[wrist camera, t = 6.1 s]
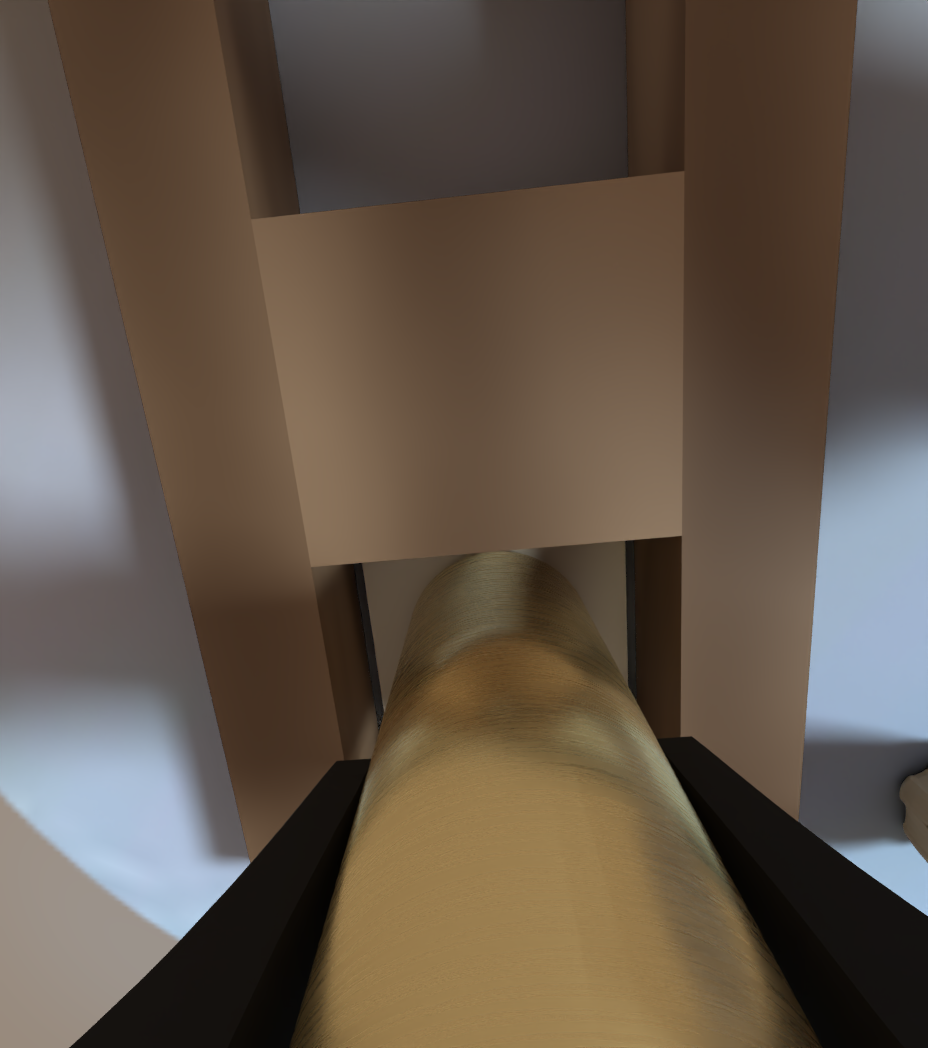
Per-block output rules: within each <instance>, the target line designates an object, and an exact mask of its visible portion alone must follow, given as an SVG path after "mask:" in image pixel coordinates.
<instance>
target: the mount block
mask: <svg viewBox="0 0 928 1048" xmlns="http://www.w3.org/2000/svg"><path fill="white" fill-rule="evenodd" d="M48 4H49V8H50V12H51V16H52V21H53V25H54V29H55V33H56V38H57V42H58V46H59V50H60V55H61V59H62V63H63V67H64V72H65V76H66V80H67V84H68V89H69V93H70V97H71V101H72V106H73V110H74V114H75V118H76V123H77V127H78V131H79V135H80V140H81V144H82V148H83V153H84V157H85V161H86V165H87V170H88V174H89V178H90V182H91V187H92V191H93V195H94V199H95V204H96V208H97V212H98V216H99V221H100V225H101V229H102V233H103V238H104V242H105V246H106V250H107V255H108V259H109V263H110V267H111V272H112V276H113V280H114V284H115V289H116V293H117V297H118V301H119V306H120V310H121V314H122V319H123V323H124V327H125V331H126V336H127V340H128V344H129V348H130V353H131V357H132V361H133V365H134V370H135V374H136V378H137V382H138V387H139V391H140V395H141V399H142V404H143V408H144V412H145V416H146V421H147V425H148V429H149V433H150V438H151V442H152V446H153V450H154V455H155V459H156V463H157V467H158V472H159V476H160V480H161V485H162V489H163V493H164V497H165V502H166V506H167V510H168V514H169V519H170V523H171V527H172V531H173V536H174V540H175V544H176V548H177V553H178V557H179V561H180V565H181V570H182V574H183V578H184V582H185V587H186V591H187V595H188V599H189V604H190V608H191V612H192V616H193V621H194V625H195V629H196V633H197V638H198V642H199V646H200V651H201V655H202V659H203V663H204V668H205V672H206V676H207V680H208V685H209V689H210V693H211V697H212V702H213V706H214V710H215V714H216V719H217V723H218V727H219V731H220V736H221V740H222V744H223V748H224V753H225V757H226V761H227V765H228V770H229V774H230V778H231V782H232V787H233V791H234V795H235V799H236V804H237V808H238V812H239V817H240V821H241V825H242V829H243V834H244V838H245V842H246V846H247V851H248V855H249V859H250V863H251V862H252V861H253V860H254V859H255V858H256V856H257V855H258V854H259V853H260V852H261V851H262V849H263V848H264V847H265V846H266V845H267V844H268V842H269V841H270V840H271V839H272V838H273V837H274V835H275V834H276V833H277V832H278V831H279V830H280V828H281V827H282V826H283V825H284V823H285V822H286V821H287V820H288V819H289V817H290V816H291V815H292V814H293V813H294V811H295V810H296V809H297V808H298V807H299V805H300V804H301V803H302V802H303V800H304V799H305V798H306V797H307V796H308V794H309V793H310V792H311V791H312V789H313V788H314V787H315V786H316V785H317V783H318V782H319V781H320V780H321V778H322V777H323V776H324V775H325V774H326V773H327V771H328V770H329V769H330V768H331V767H332V766H333V764H334V763H335V762H336V761H343V760H357V759H371V758H372V754H373V751H374V747H375V744H376V740H377V737H378V733H379V730H378V723H377V717H376V710H375V703H374V697H373V690H372V684H371V677H370V670H369V664H368V657H367V651H366V644H365V637H364V631H363V624H362V618H361V611H360V604H359V598H358V591H357V585H356V578H355V571H354V565H353V564H354V563H362V566H363V572H364V579H365V586H366V593H367V600H368V606H369V613H370V620H371V627H372V634H373V640H374V647H375V654H376V661H377V668H378V674H379V681H380V688H381V695H382V702H383V708H384V712H385V709H386V705H387V702H388V698H389V695H390V691H391V688H392V684H393V680H394V677H395V673H396V670H397V666H398V663H399V659H400V656H401V652H402V649H403V645H404V642H405V638H406V635H407V631H408V628H409V624H410V621H411V617H412V614H413V611H414V608H415V605H416V603H417V601H418V599H419V597H420V595H421V593H422V592H423V591H424V589H425V588H426V586H427V585H428V584H429V583H430V582H431V581H432V580H433V579H434V577H435V576H436V575H438V574H439V573H440V572H441V571H443V570H444V569H445V568H447V567H448V566H450V565H452V564H453V563H455V562H457V561H459V560H462V559H464V558H466V557H469V556H472V555H476V554H480V553H486V552H499V551H505V552H515V553H520V554H524V555H528V556H531V557H534V558H536V559H539V560H541V561H543V562H545V563H547V564H549V565H550V566H552V567H553V568H554V569H556V570H557V571H559V572H560V573H561V574H562V575H563V576H564V577H565V578H566V579H567V580H568V581H569V582H570V583H571V584H572V586H573V587H574V588H575V590H576V591H577V593H578V595H579V596H580V598H581V600H582V601H583V603H584V605H585V607H586V609H587V611H588V613H589V614H590V616H591V618H592V620H593V622H594V624H595V626H596V627H597V629H598V631H599V633H600V635H601V637H602V639H603V640H604V642H605V644H606V646H607V648H608V650H609V652H610V653H611V655H612V657H613V659H614V661H615V663H616V665H617V666H618V668H619V670H620V672H621V674H622V676H623V678H624V679H625V681H626V683H627V685H628V656H627V607H626V558H625V541H626V540H634V568H635V631H636V693H637V704H638V705H639V707H640V709H641V711H642V713H643V715H644V717H645V718H646V720H647V722H648V724H649V726H650V728H651V730H652V731H653V733H654V735H655V737H656V739H660V738H674V737H689V736H692V737H693V738H695V739H696V740H697V741H699V742H700V743H701V744H702V745H704V746H705V747H706V748H707V749H709V750H710V751H711V752H712V753H713V754H715V755H716V756H717V757H718V758H720V759H721V760H722V761H723V762H724V763H726V764H727V765H728V766H729V767H730V768H732V769H733V770H734V771H735V772H737V773H738V774H739V775H740V776H741V777H743V778H744V779H745V780H746V781H748V782H749V783H750V784H751V785H753V786H754V787H755V788H756V789H757V790H759V791H760V792H761V793H762V794H764V795H765V796H766V797H767V798H769V799H770V800H771V801H772V802H774V803H775V804H776V805H777V806H779V807H780V808H781V809H782V810H784V811H785V812H786V813H788V814H789V815H790V816H791V817H793V818H794V819H795V820H797V821H798V819H799V806H800V792H801V778H802V764H803V750H804V736H805V722H806V708H807V694H808V680H809V666H810V652H811V639H812V625H813V611H814V597H815V583H816V569H817V555H818V541H819V527H820V513H821V499H822V486H823V472H824V458H825V444H826V430H827V416H828V402H829V388H830V374H831V360H832V346H833V333H834V319H835V305H836V291H837V277H838V263H839V249H840V235H841V221H842V207H843V193H844V180H845V166H846V152H847V138H848V124H849V110H850V96H851V82H852V68H853V54H854V40H855V27H856V13H857V0H625V7H626V69H627V132H628V177H626V178H617V179H608V180H599V181H591V182H582V183H573V184H564V185H555V186H546V187H537V188H528V189H519V190H510V191H501V192H492V193H483V194H474V195H465V196H456V197H447V198H438V199H430V200H421V201H412V202H403V203H394V204H385V205H376V206H367V207H358V208H349V209H340V210H331V211H322V212H313V213H304V214H300V208H299V202H298V195H297V189H296V182H295V175H294V169H293V162H292V156H291V149H290V142H289V136H288V129H287V123H286V116H285V109H284V103H283V96H282V89H281V83H280V76H279V70H278V63H277V56H276V50H275V43H274V37H273V30H272V23H271V17H270V10H269V4H268V0H48Z"/></svg>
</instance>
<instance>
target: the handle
mask: <svg viewBox="0 0 928 1048" xmlns="http://www.w3.org/2000/svg"><path fill="white" fill-rule="evenodd" d="M899 796H900V799H901V800H902V801H903V803H904V804H905V807H906V817H905V822H904V823H903V829H904V833H905V834H906V836H907V837H908V839H909V840H910V841H911V843H912V844H913V846H914V847H915V848H916V849H917V851H918V852H919V853H920V854H921V855H922V857H923V858H924V859H925V860H926V861H927V863H928V769H926V770H924V771H923V772H921V773H918V774H916V775H910V776H908V777H907V778H906V779H905V780H904V782H903V783H902V785H901V787H900V791H899Z"/></svg>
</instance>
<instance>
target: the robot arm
mask: <svg viewBox="0 0 928 1048" xmlns="http://www.w3.org/2000/svg"><path fill="white" fill-rule="evenodd" d="M657 741H658V743H659V744H660V746H661V748H662V750H663V752H664V754H665V756H666V757H667V759H668V761H669V763H670V765H671V767H672V769H673V770H674V772H675V774H676V776H677V778H678V780H679V782H680V783H681V785H682V787H683V789H684V791H685V793H686V795H687V796H688V798H689V800H690V802H691V804H692V806H693V808H694V809H695V811H696V813H697V815H698V817H699V819H700V821H701V822H702V824H703V826H704V828H705V830H706V832H707V834H708V835H709V837H710V839H711V841H712V843H713V845H714V847H715V848H716V850H717V852H718V854H719V856H720V858H721V860H722V861H723V863H724V865H725V867H726V869H727V871H728V873H729V874H730V876H731V878H732V880H733V882H734V884H735V886H736V887H737V889H738V891H739V893H740V895H741V897H742V899H743V900H744V902H745V904H746V906H747V908H748V910H749V911H750V913H751V915H752V917H753V919H754V921H755V923H756V924H757V926H758V928H759V930H760V932H761V934H762V936H763V937H764V939H765V941H766V943H767V945H768V947H769V949H770V950H771V952H772V954H773V956H774V958H775V960H776V962H777V963H778V965H779V967H780V969H781V971H782V973H783V975H784V976H785V978H786V980H787V982H788V984H789V986H790V988H791V989H792V991H793V993H794V995H795V997H796V999H797V1001H798V1002H799V1004H800V1006H801V1008H802V1010H803V1012H804V1014H805V1015H806V1017H807V1019H808V1021H809V1023H810V1025H811V1027H812V1028H813V1030H814V1032H815V1034H816V1036H817V1038H818V1040H819V1041H820V1043H821V1045H822V1047H823V1048H928V916H927V915H925V914H924V913H922V912H921V911H919V910H918V909H916V908H915V907H914V906H912V905H911V904H909V903H908V902H907V901H905V900H904V899H902V898H901V897H900V896H898V895H897V894H895V893H894V892H892V891H891V890H890V889H888V888H887V887H885V886H884V885H883V884H881V883H880V882H878V881H877V880H876V879H874V878H873V877H871V876H870V875H869V874H867V873H866V872H864V871H863V870H862V869H860V868H859V867H857V866H856V865H855V864H853V863H852V862H851V861H849V860H848V859H847V858H845V857H844V856H843V855H841V854H840V853H839V852H837V851H836V850H834V849H833V848H832V847H830V846H829V845H828V844H826V843H825V842H824V841H823V840H821V839H820V838H819V837H817V836H816V835H815V834H813V833H812V832H811V831H809V830H808V829H807V828H806V827H804V826H803V825H802V824H800V823H799V822H798V821H797V820H795V819H794V818H793V817H791V816H790V815H789V814H788V813H786V812H785V811H784V810H782V809H781V808H780V807H779V806H777V805H776V804H775V803H774V802H772V801H771V800H770V799H769V798H767V797H766V796H765V795H764V794H762V793H761V792H760V791H759V790H757V789H756V788H755V787H754V786H753V785H751V784H750V783H749V782H748V781H746V780H745V779H744V778H743V777H741V776H740V775H739V774H738V773H737V772H735V771H734V770H733V769H732V768H730V767H729V766H728V765H727V764H726V763H724V762H723V761H722V760H721V759H720V758H718V757H717V756H716V755H715V754H713V753H712V752H711V751H710V750H709V749H707V748H706V747H705V746H704V745H702V744H701V743H700V742H699V741H697V740H696V739H695V738H693V737H692V736H689V737H674V738H660V739H657ZM370 761H371V759H357V760H343V761H336V762H335V763H334V764H333V766H332V767H331V768H330V769H329V770H328V771H327V773H326V774H325V775H324V776H323V777H322V778H321V780H320V781H319V782H318V783H317V785H316V786H315V787H314V788H313V789H312V791H311V792H310V793H309V794H308V796H307V797H306V798H305V799H304V800H303V802H302V803H301V804H300V805H299V807H298V808H297V809H296V810H295V811H294V813H293V814H292V815H291V816H290V817H289V819H288V820H287V821H286V822H285V823H284V825H283V826H282V827H281V828H280V830H279V831H278V832H277V833H276V834H275V835H274V837H273V838H272V839H271V840H270V841H269V842H268V844H267V845H266V846H265V847H264V848H263V849H262V851H261V852H260V853H259V854H258V855H257V856H256V858H255V859H254V860H253V861H252V862H251V863H250V865H249V866H248V867H247V868H246V869H245V870H244V871H243V873H242V874H241V875H240V876H239V877H238V878H237V879H236V881H235V882H234V883H233V884H232V885H231V886H230V887H229V888H228V889H227V891H226V892H225V893H224V894H223V895H222V896H221V897H220V898H219V899H218V900H217V901H216V902H215V903H214V905H213V906H212V907H211V908H210V909H209V910H208V911H207V912H206V913H205V914H204V915H203V916H202V918H201V919H200V920H199V921H198V922H197V923H196V924H195V925H194V926H193V927H192V928H191V929H190V930H189V932H188V933H187V934H186V935H185V936H184V937H183V938H182V939H181V940H180V941H179V942H178V943H177V944H176V945H175V946H174V947H173V948H172V950H170V952H169V953H168V954H167V955H166V956H165V957H164V958H163V959H162V960H161V961H160V962H159V963H158V964H157V965H156V966H155V967H154V968H153V969H152V970H151V971H150V972H149V973H148V974H147V975H146V976H145V977H144V978H143V979H142V980H141V981H140V982H139V983H138V984H137V985H136V986H135V987H133V988H132V989H131V990H130V991H129V992H128V993H127V994H126V995H125V996H124V997H123V998H122V999H121V1000H120V1001H119V1002H118V1003H117V1004H116V1005H115V1006H113V1007H112V1008H111V1009H110V1010H109V1011H108V1012H107V1013H106V1014H105V1015H104V1016H103V1017H102V1018H101V1019H100V1020H99V1021H98V1022H97V1023H96V1024H95V1025H94V1026H92V1027H91V1028H90V1029H89V1030H88V1031H87V1032H86V1033H85V1034H84V1035H83V1036H82V1037H81V1038H80V1039H78V1040H77V1041H76V1042H75V1043H74V1044H73V1045H72V1046H71V1047H70V1048H289V1047H290V1043H291V1040H292V1036H293V1033H294V1029H295V1026H296V1022H297V1019H298V1015H299V1012H300V1008H301V1004H302V1001H303V997H304V994H305V990H306V987H307V983H308V980H309V976H310V973H311V969H312V966H313V962H314V959H315V955H316V952H317V948H318V945H319V941H320V938H321V934H322V931H323V927H324V923H325V920H326V916H327V913H328V909H329V906H330V902H331V899H332V895H333V892H334V888H335V885H336V881H337V878H338V874H339V871H340V867H341V864H342V860H343V857H344V853H345V850H346V846H347V842H348V839H349V835H350V832H351V828H352V825H353V821H354V818H355V814H356V811H357V807H358V804H359V800H360V797H361V793H362V790H363V786H364V783H365V779H366V776H367V772H368V769H369V765H370Z"/></svg>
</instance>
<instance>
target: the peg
mask: <svg viewBox="0 0 928 1048" xmlns="http://www.w3.org/2000/svg"><path fill="white" fill-rule="evenodd" d="M289 1048H823V1047H822V1045H821V1043H820V1041H819V1040H818V1038H817V1036H816V1034H815V1032H814V1030H813V1028H812V1027H811V1025H810V1023H809V1021H808V1019H807V1017H806V1015H805V1014H804V1012H803V1010H802V1008H801V1006H800V1004H799V1002H798V1001H797V999H796V997H795V995H794V993H793V991H792V989H791V988H790V986H789V984H788V982H787V980H786V978H785V976H784V975H783V973H782V971H781V969H780V967H779V965H778V963H777V962H776V960H775V958H774V956H773V954H772V952H771V950H770V949H769V947H768V945H767V943H766V941H765V939H764V937H763V936H762V934H761V932H760V930H759V928H758V926H757V924H756V923H755V921H754V919H753V917H752V915H751V913H750V911H749V910H748V908H747V906H746V904H745V902H744V900H743V899H742V897H741V895H740V893H739V891H738V889H737V887H736V886H735V884H734V882H733V880H732V878H731V876H730V874H729V873H728V871H727V869H726V867H725V865H724V863H723V861H722V860H721V858H720V856H719V854H718V852H717V850H716V848H715V847H714V845H713V843H712V841H711V839H710V837H709V835H708V834H707V832H706V830H705V828H704V826H703V824H702V822H701V821H700V819H699V817H698V815H697V813H696V811H695V809H694V808H693V806H692V804H691V802H690V800H689V798H688V796H687V795H686V793H685V791H684V789H683V787H682V785H681V783H680V782H679V780H678V778H677V776H676V774H675V772H674V770H673V769H672V767H671V765H670V763H669V761H668V759H667V757H666V756H665V754H664V752H663V750H662V748H661V746H660V744H659V743H658V741H657V739H656V737H655V735H654V733H653V731H652V730H651V728H650V726H649V724H648V722H647V720H646V718H645V717H644V715H643V713H642V711H641V709H640V707H639V705H638V704H637V702H636V700H635V698H634V696H633V694H632V692H631V691H630V689H629V687H628V685H627V683H626V681H625V679H624V678H623V676H622V674H621V672H620V670H619V668H618V666H617V665H616V663H615V661H614V659H613V657H612V655H611V653H610V652H609V650H608V648H607V646H606V644H605V642H604V640H603V639H602V637H601V635H600V633H599V631H598V629H597V627H596V626H595V624H594V622H593V620H592V618H591V616H590V614H589V613H588V611H587V609H586V607H585V605H584V603H583V601H582V600H581V598H580V596H579V595H578V593H577V591H576V590H575V588H574V587H573V586H572V584H571V583H570V582H569V581H568V580H567V579H566V578H565V577H564V576H563V575H562V574H561V573H560V572H559V571H557V570H556V569H554V568H553V567H552V566H550V565H549V564H547V563H545V562H543V561H541V560H539V559H536V558H534V557H531V556H528V555H524V554H520V553H515V552H505V551H499V552H486V553H480V554H476V555H472V556H469V557H466V558H464V559H462V560H459V561H457V562H455V563H453V564H452V565H450V566H448V567H447V568H445V569H444V570H443V571H441V572H440V573H439V574H438V575H436V576H435V577H434V579H433V580H432V581H431V582H430V583H429V584H428V585H427V586H426V588H425V589H424V591H423V592H422V593H421V595H420V597H419V599H418V601H417V603H416V605H415V608H414V611H413V614H412V617H411V621H410V624H409V628H408V631H407V635H406V638H405V642H404V645H403V649H402V652H401V656H400V659H399V663H398V666H397V670H396V673H395V677H394V680H393V684H392V688H391V691H390V695H389V698H388V702H387V705H386V709H385V712H384V716H383V719H382V723H381V726H380V730H379V733H378V737H377V740H376V744H375V747H374V751H373V754H372V758H371V761H370V765H369V769H368V772H367V776H366V779H365V783H364V786H363V790H362V793H361V797H360V800H359V804H358V807H357V811H356V814H355V818H354V821H353V825H352V828H351V832H350V835H349V839H348V842H347V846H346V850H345V853H344V857H343V860H342V864H341V867H340V871H339V874H338V878H337V881H336V885H335V888H334V892H333V895H332V899H331V902H330V906H329V909H328V913H327V916H326V920H325V923H324V927H323V931H322V934H321V938H320V941H319V945H318V948H317V952H316V955H315V959H314V962H313V966H312V969H311V973H310V976H309V980H308V983H307V987H306V990H305V994H304V997H303V1001H302V1004H301V1008H300V1012H299V1015H298V1019H297V1022H296V1026H295V1029H294V1033H293V1036H292V1040H291V1043H290V1047H289Z"/></svg>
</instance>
